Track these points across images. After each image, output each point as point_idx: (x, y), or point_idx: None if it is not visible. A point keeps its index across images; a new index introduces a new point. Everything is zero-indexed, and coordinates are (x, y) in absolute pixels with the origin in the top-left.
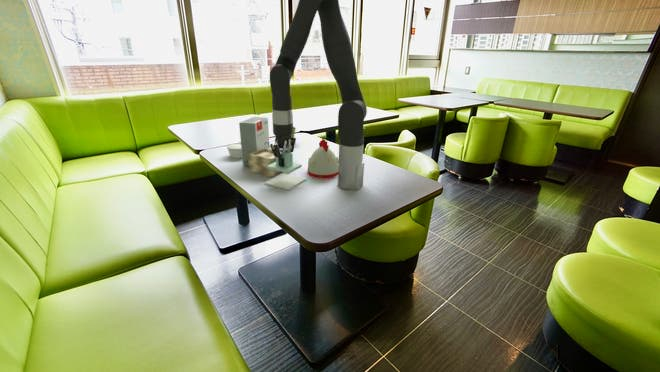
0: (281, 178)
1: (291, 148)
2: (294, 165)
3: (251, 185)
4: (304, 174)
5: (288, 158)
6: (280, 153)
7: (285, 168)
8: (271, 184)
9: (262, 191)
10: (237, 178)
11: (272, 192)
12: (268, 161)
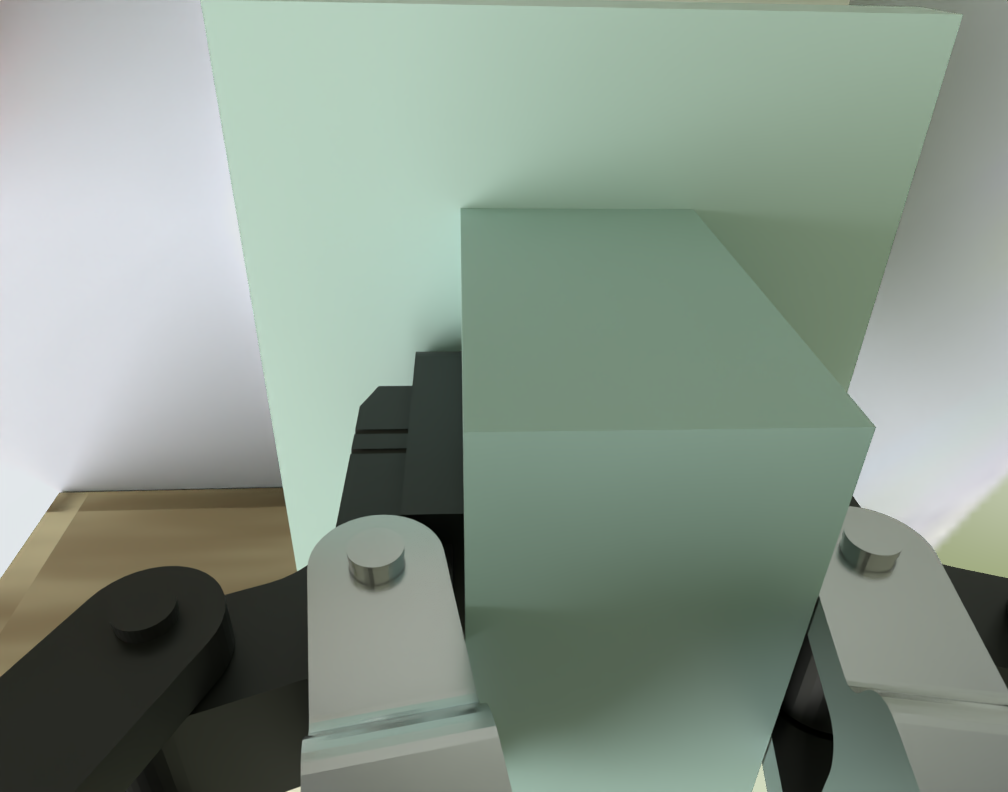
0: None
1: (138, 761)
2: (433, 160)
3: None
4: (3, 126)
5: (773, 342)
6: (719, 749)
7: (777, 243)
8: None
9: (990, 305)
10: None
11: (1001, 151)
12: None
